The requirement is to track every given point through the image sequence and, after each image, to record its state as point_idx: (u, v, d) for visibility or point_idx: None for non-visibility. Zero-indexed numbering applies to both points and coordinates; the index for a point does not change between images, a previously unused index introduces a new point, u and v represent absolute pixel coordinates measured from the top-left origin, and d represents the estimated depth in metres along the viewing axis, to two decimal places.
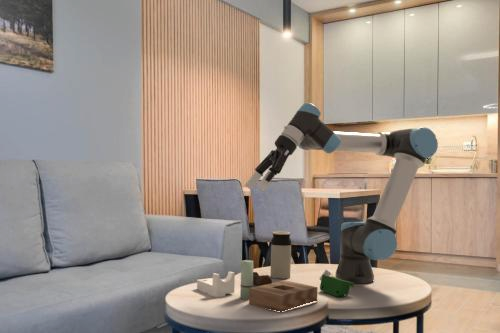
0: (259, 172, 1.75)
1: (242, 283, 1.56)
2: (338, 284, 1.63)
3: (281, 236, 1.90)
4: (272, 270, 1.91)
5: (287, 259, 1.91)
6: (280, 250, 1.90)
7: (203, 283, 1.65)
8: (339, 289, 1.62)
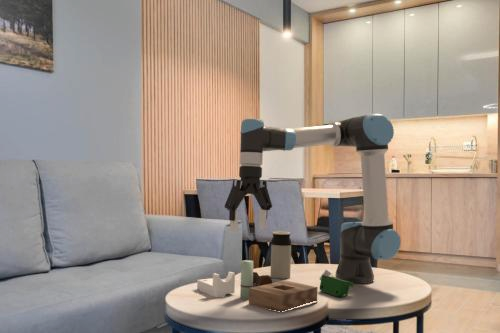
0: (263, 208, 1.64)
1: (242, 283, 1.56)
2: (338, 284, 1.63)
3: (281, 236, 1.90)
4: (272, 270, 1.91)
5: (287, 259, 1.91)
6: (280, 250, 1.90)
7: (203, 283, 1.65)
8: (339, 289, 1.62)
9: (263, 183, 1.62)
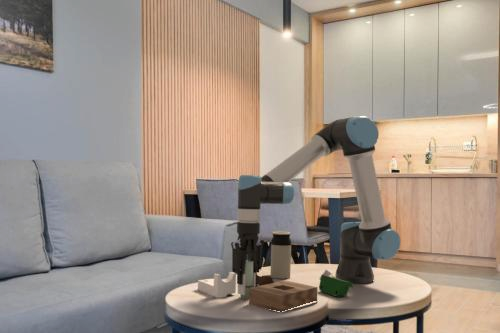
0: (253, 270, 1.60)
1: None
2: (337, 284, 1.63)
3: (281, 236, 1.90)
4: (272, 270, 1.91)
5: (287, 259, 1.91)
6: (280, 250, 1.90)
7: (204, 283, 1.64)
8: (338, 289, 1.62)
9: (260, 241, 1.61)
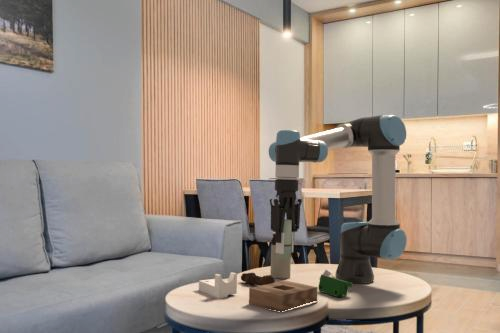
0: None
1: None
2: (337, 284, 1.63)
3: None
4: (272, 270, 1.91)
5: (287, 259, 1.91)
6: None
7: (205, 284, 1.64)
8: (338, 289, 1.62)
9: (298, 200, 1.56)
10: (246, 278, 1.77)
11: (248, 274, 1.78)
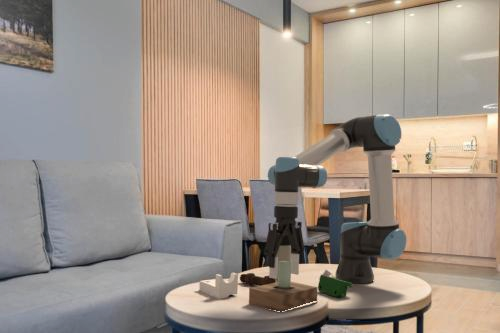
0: (296, 252, 1.56)
1: (279, 284, 1.51)
2: (336, 284, 1.62)
3: None
4: None
5: (287, 259, 1.91)
6: (280, 250, 1.90)
7: (206, 284, 1.63)
8: (337, 289, 1.61)
9: (298, 224, 1.56)
10: (246, 279, 1.76)
11: (248, 275, 1.77)
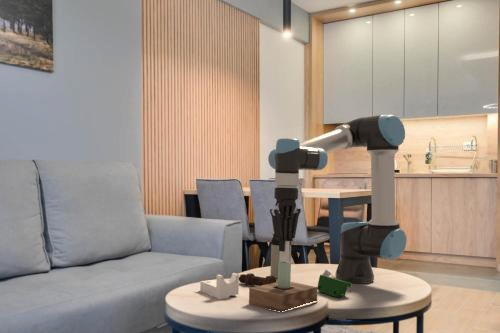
0: (286, 239, 1.53)
1: (279, 285, 1.51)
2: (336, 284, 1.62)
3: None
4: (272, 270, 1.91)
5: None
6: None
7: (207, 285, 1.62)
8: (336, 289, 1.61)
9: (297, 210, 1.56)
10: (246, 279, 1.75)
11: (248, 275, 1.76)
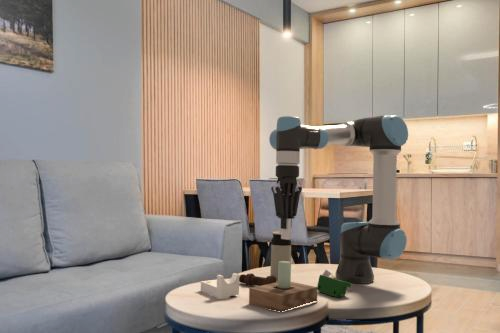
0: (288, 216, 1.54)
1: (279, 285, 1.51)
2: (335, 284, 1.62)
3: None
4: (272, 270, 1.91)
5: (287, 259, 1.91)
6: (280, 250, 1.90)
7: (207, 285, 1.62)
8: (336, 289, 1.61)
9: (298, 188, 1.56)
10: (246, 279, 1.75)
11: (248, 275, 1.76)
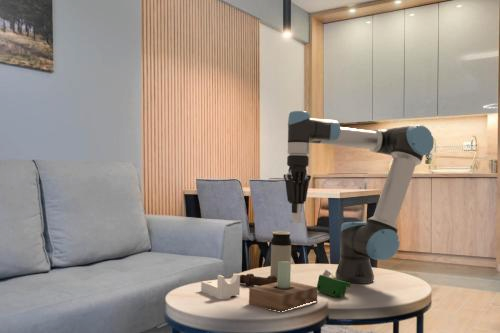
0: (298, 202, 1.69)
1: (279, 285, 1.51)
2: (335, 284, 1.62)
3: (281, 236, 1.90)
4: (272, 270, 1.91)
5: (287, 259, 1.91)
6: (280, 250, 1.90)
7: (208, 285, 1.62)
8: (336, 289, 1.61)
9: (308, 176, 1.72)
10: (246, 280, 1.75)
11: (248, 275, 1.75)
